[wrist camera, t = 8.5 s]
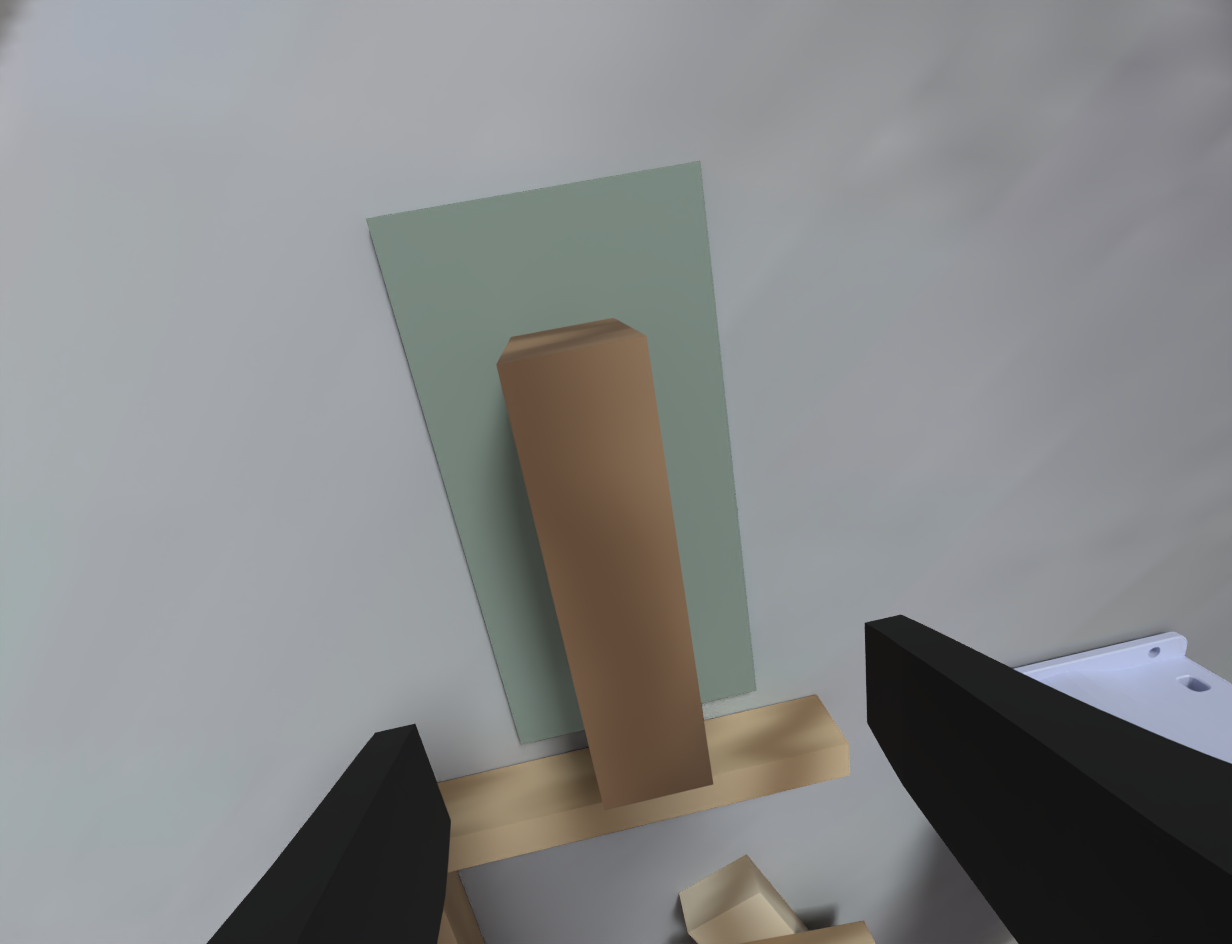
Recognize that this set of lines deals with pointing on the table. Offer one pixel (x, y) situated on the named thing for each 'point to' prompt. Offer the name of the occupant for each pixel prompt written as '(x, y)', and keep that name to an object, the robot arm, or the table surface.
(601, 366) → the tall brown wooden post
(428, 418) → the rubber mat
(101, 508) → the table surface
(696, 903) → the offcut low
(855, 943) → the offcut top
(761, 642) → the table surface
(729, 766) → the oak rack
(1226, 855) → the robot arm
